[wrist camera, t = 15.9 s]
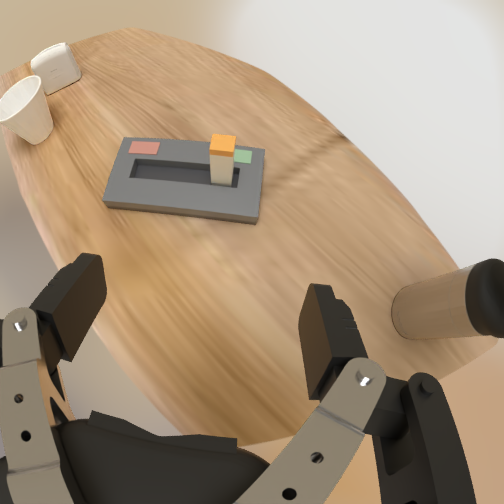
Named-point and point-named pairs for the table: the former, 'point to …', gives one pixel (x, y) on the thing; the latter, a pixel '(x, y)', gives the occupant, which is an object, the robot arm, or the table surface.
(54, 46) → the photo printer
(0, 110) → the cup
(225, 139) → the handle
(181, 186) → the slotted lever switch base
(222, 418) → the table surface
